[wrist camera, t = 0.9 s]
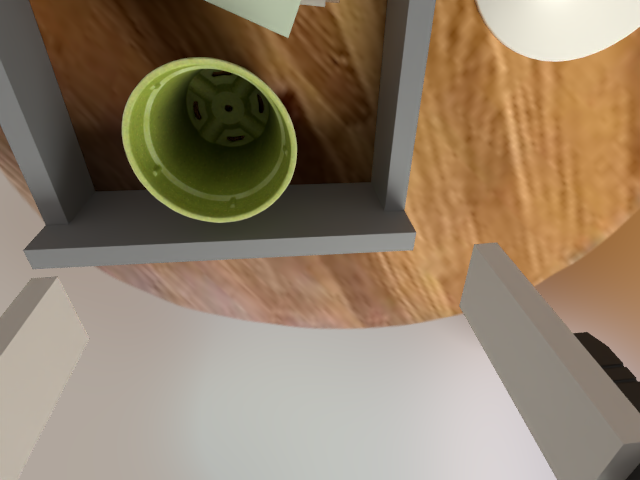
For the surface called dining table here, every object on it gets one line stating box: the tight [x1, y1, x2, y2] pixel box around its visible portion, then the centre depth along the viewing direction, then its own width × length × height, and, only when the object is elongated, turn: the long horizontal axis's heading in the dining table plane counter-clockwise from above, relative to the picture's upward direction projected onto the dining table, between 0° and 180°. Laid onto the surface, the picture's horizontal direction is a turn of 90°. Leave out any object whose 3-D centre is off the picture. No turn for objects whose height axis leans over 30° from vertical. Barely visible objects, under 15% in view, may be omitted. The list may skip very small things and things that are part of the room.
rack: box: [0, 0, 436, 269], centre depth 24 cm, size 20×26×8 cm
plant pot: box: [122, 57, 297, 223], centre depth 25 cm, size 9×9×9 cm
